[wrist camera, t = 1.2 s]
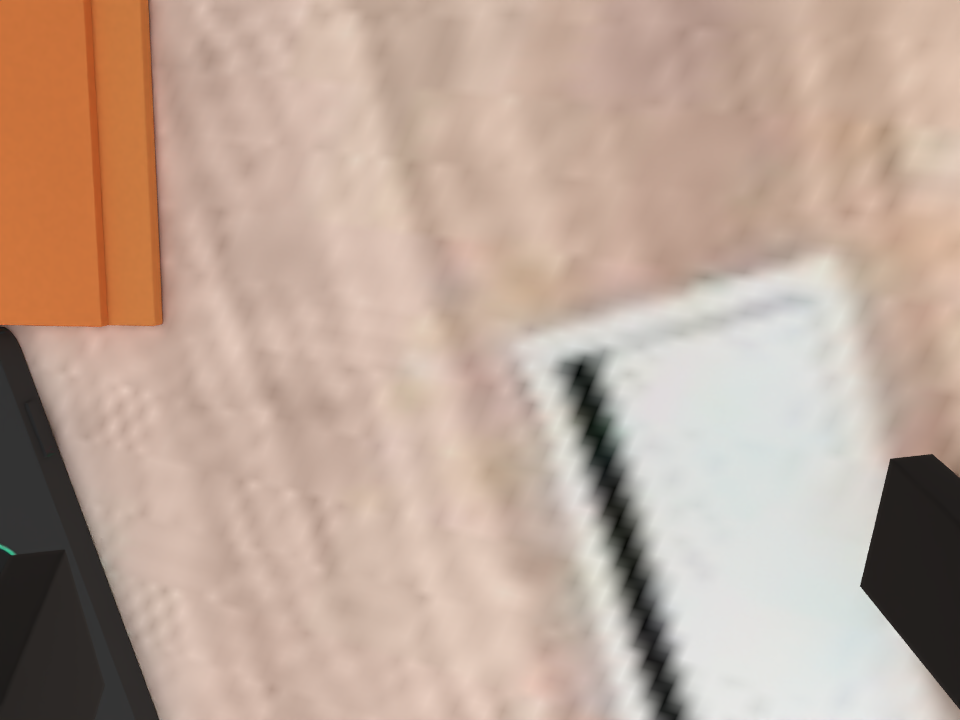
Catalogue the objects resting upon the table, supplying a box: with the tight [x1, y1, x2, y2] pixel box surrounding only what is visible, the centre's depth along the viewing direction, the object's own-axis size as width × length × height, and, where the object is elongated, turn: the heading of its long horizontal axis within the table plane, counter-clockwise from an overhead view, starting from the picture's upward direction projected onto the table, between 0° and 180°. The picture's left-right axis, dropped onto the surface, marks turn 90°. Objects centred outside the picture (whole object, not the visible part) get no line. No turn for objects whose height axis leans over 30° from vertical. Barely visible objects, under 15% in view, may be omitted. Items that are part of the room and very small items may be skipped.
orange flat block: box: [0, 0, 162, 327], centre depth 35 cm, size 22×9×1 cm, turn 0°
